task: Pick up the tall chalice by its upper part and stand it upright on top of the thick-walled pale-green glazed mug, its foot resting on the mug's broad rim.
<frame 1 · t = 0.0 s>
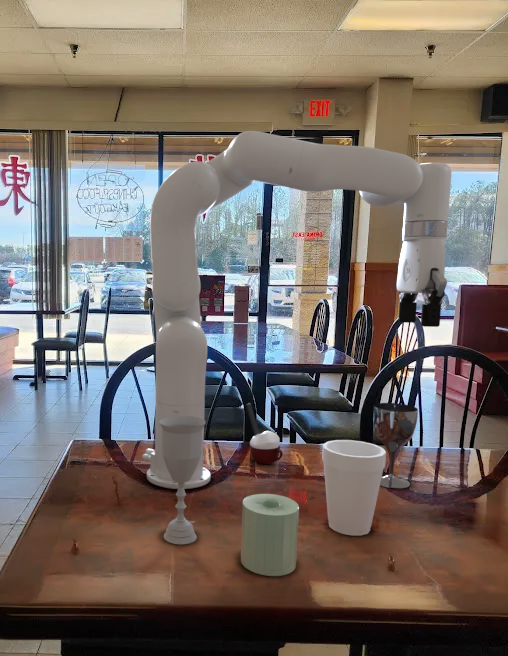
hand: (417, 324, 109), 31 cm above the table, tool pointing down, fingers open, 9 cm apart
chalice: (180, 537, 87), on the table
mug: (268, 562, 80), on the table
foam cup: (348, 528, 92), on the table
cocoa: (263, 462, 124), on the table
wine glass: (390, 482, 113), on the table
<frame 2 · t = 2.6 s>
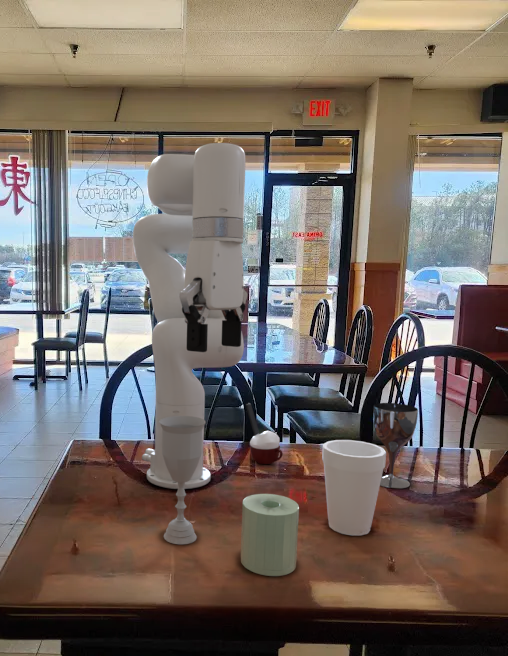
hand: (214, 348, 86), 29 cm above the table, tool pointing down, fingers open, 9 cm apart
nothing on the table moved.
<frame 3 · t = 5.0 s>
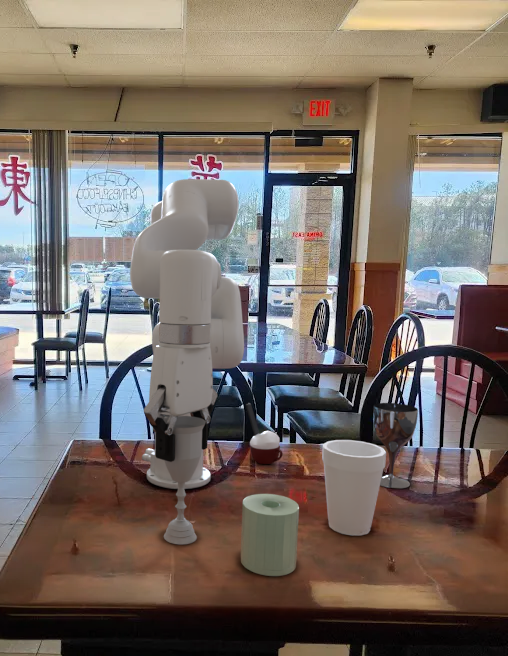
hand: (182, 452, 85), 13 cm above the table, tool pointing down, fingers closed on chalice, 7 cm apart
chalice: (180, 538, 87), on the table, touching gripper
everything else where it was.
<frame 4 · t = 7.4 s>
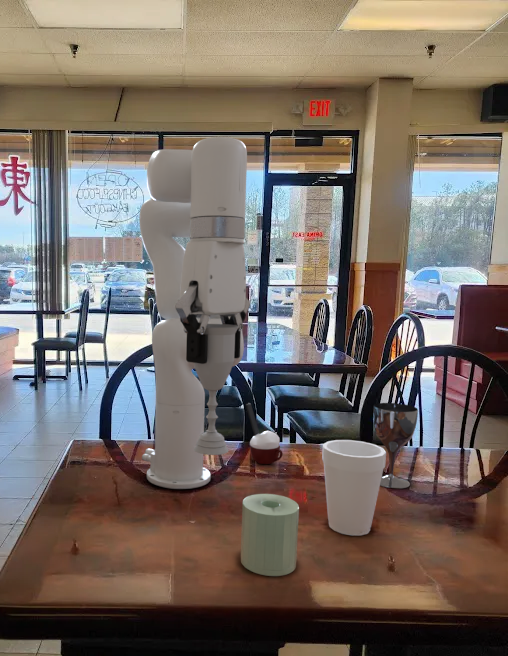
hand: (213, 359, 81), 28 cm above the table, tool pointing down, fingers closed on chalice, 7 cm apart
chalice: (211, 451, 83), point 14 cm above the table, touching gripper
everything else where it was.
when the fingers open (22 cm above the table, at t = 10.2 s): chalice stays where it is, resting on mug.
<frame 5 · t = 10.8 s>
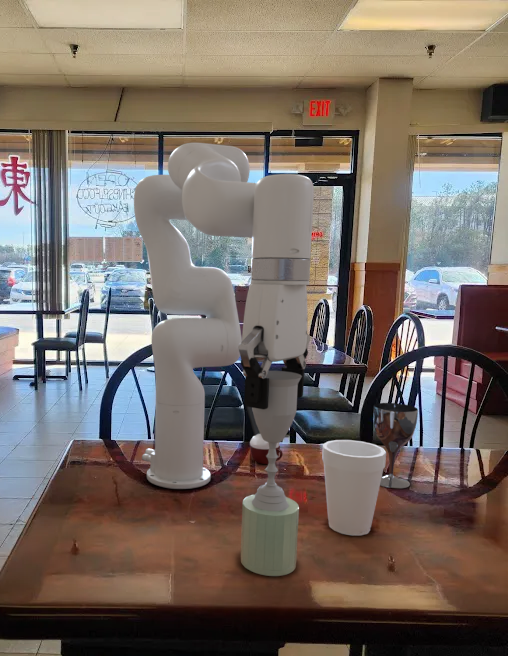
hand: (274, 401, 77), 23 cm above the table, tool pointing down, fingers open, 9 cm apart
chalice: (270, 505, 79), point 8 cm above the table, touching mug
mug: (268, 562, 80), on the table, touching chalice
everything else where it was.
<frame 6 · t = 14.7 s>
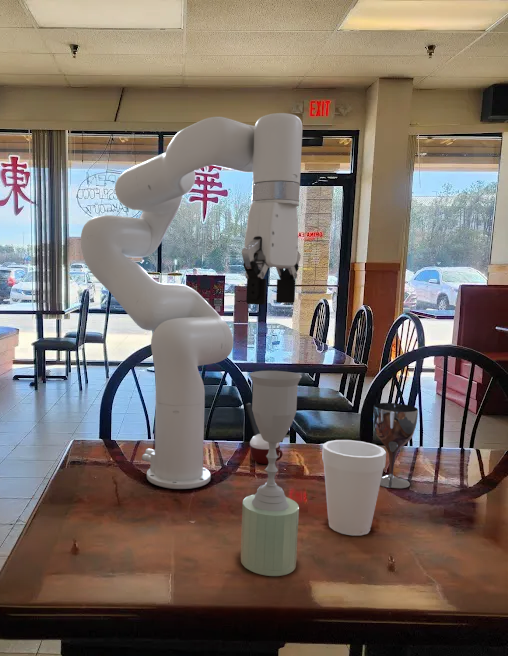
hand: (271, 303, 94), 35 cm above the table, tool pointing down, fingers open, 9 cm apart
nothing on the table moved.
at the end: chalice 0.1 cm off-centre on the mug, point 8.3 cm above the mug's base; chalice tilted 0°; mug tilted 0° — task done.
